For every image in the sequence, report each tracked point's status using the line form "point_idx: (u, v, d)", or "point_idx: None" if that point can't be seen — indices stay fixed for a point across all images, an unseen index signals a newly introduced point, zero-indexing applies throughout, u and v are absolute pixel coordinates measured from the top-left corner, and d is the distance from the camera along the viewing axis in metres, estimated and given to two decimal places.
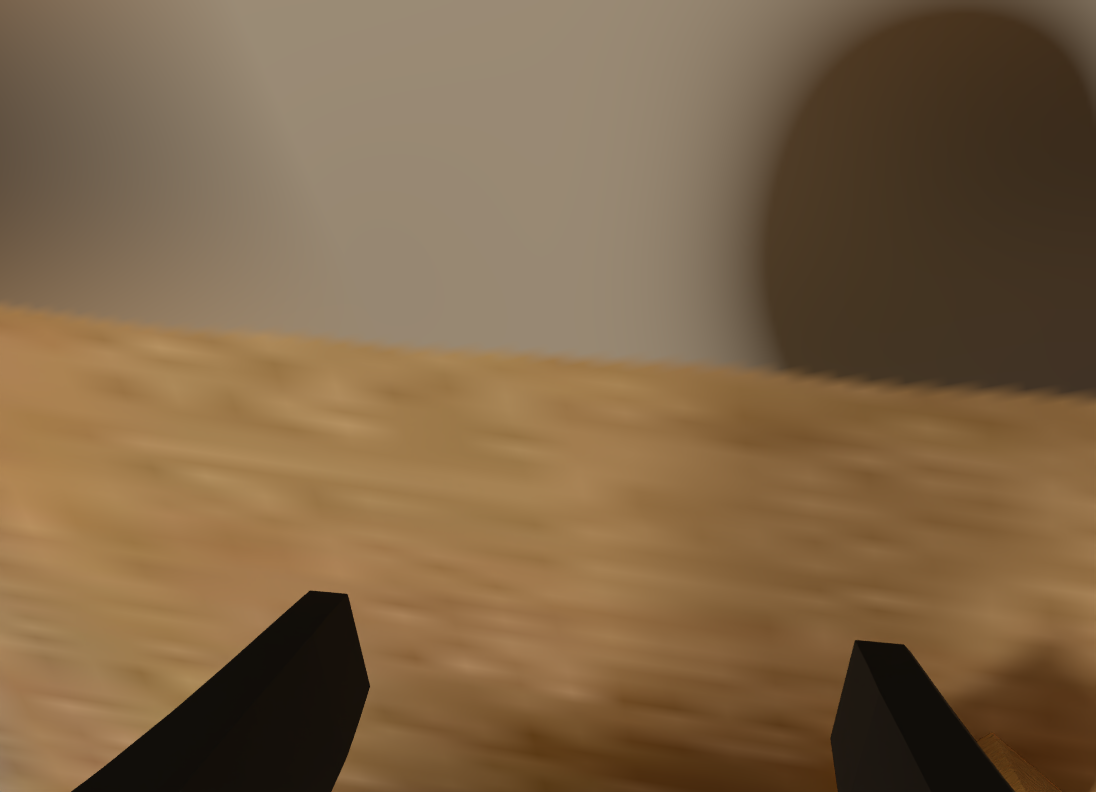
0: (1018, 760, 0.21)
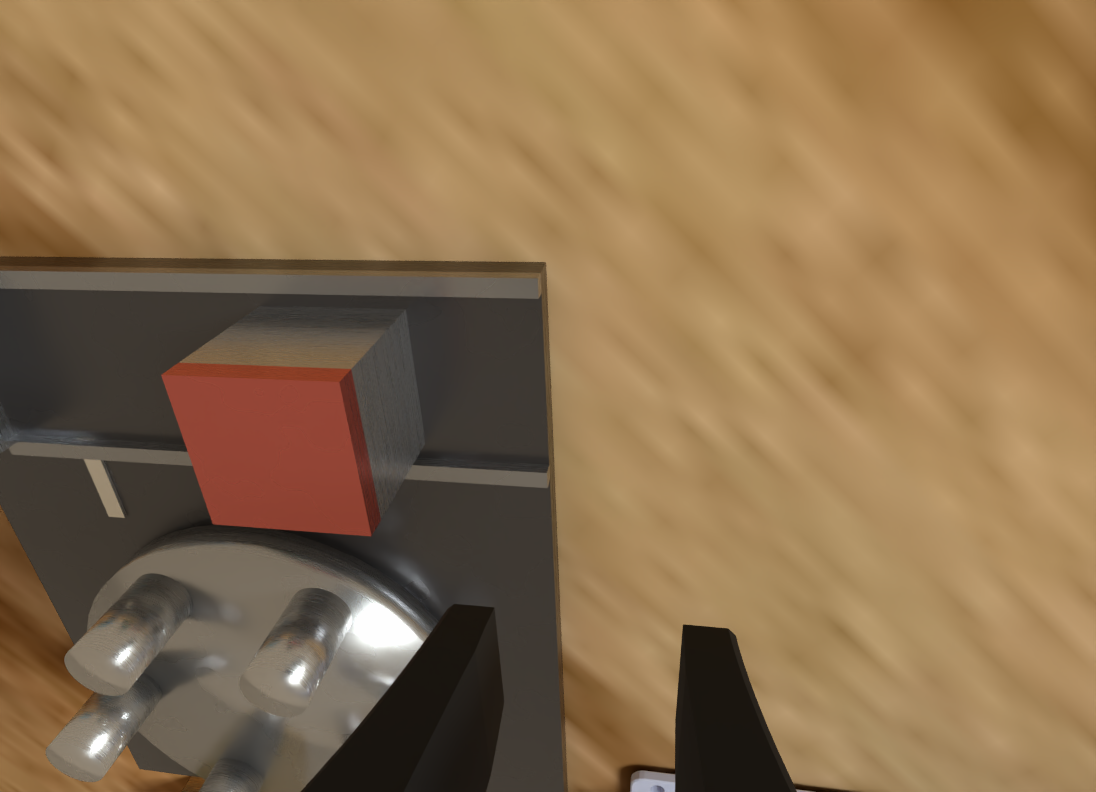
0: None
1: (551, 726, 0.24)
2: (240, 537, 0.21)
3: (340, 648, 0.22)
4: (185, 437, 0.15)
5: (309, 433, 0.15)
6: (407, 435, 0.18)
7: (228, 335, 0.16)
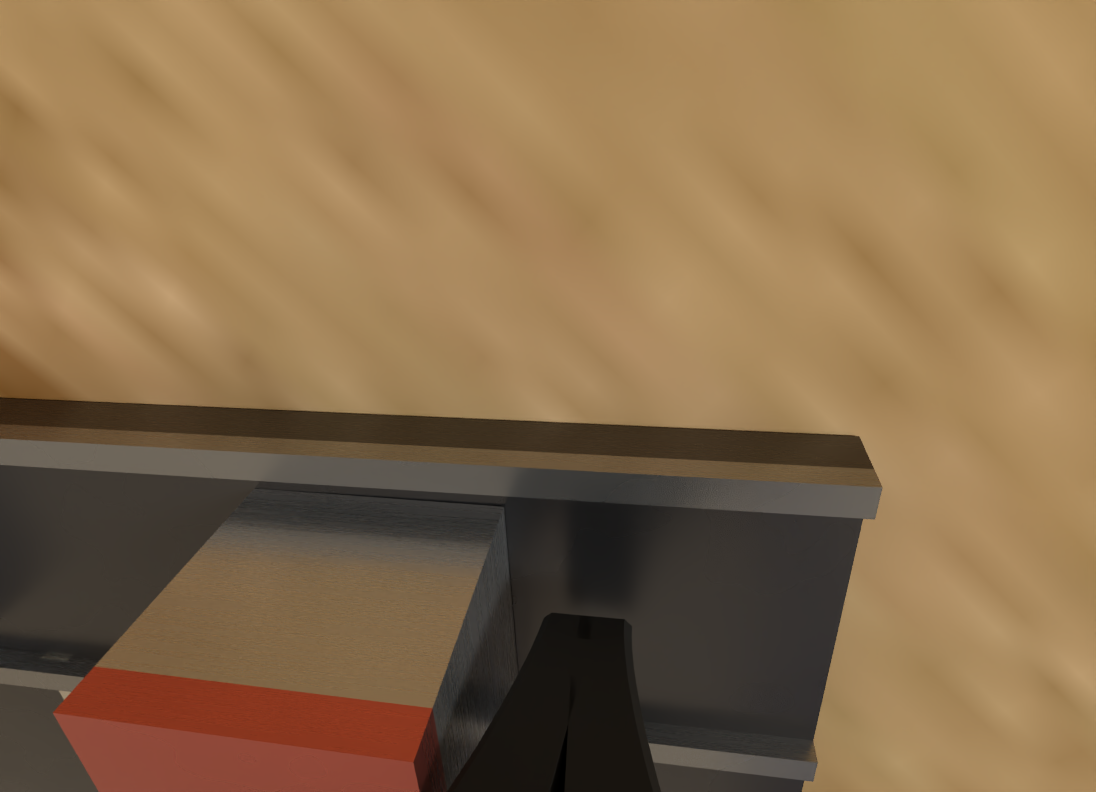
0: None
1: None
2: None
3: None
4: None
5: None
6: None
7: (195, 576, 0.09)
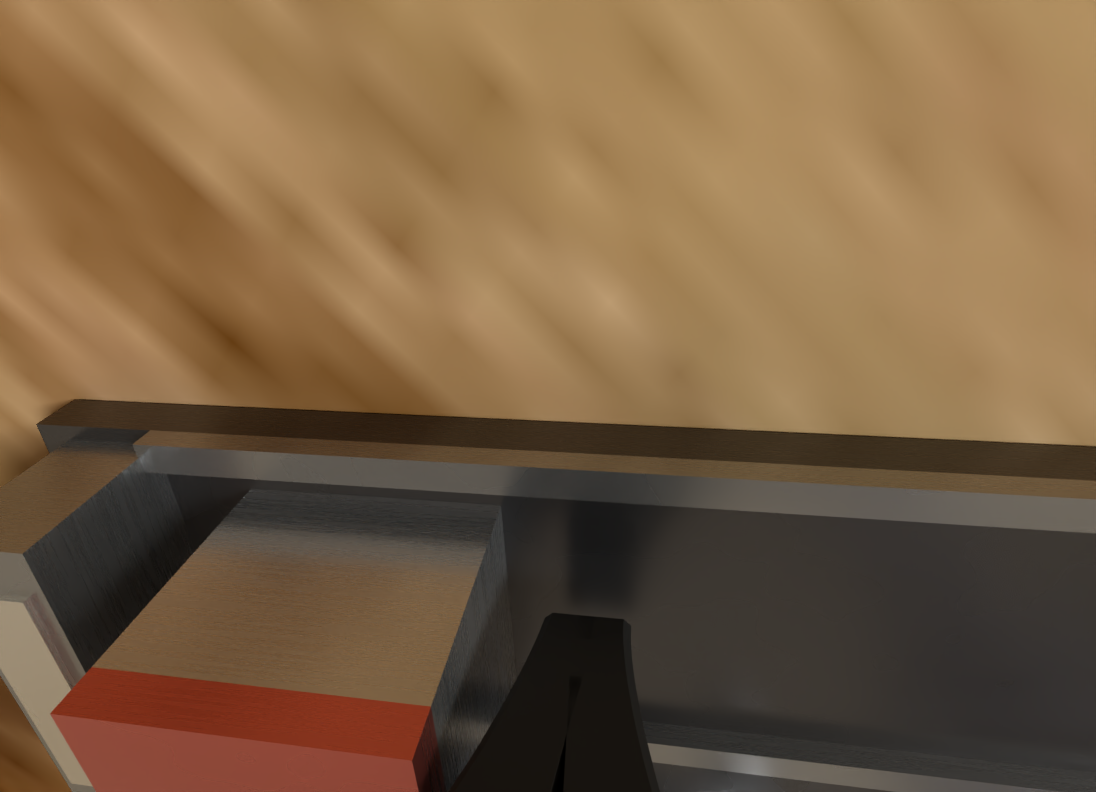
0: None
1: None
2: None
3: None
4: None
5: None
6: (499, 708, 0.11)
7: (193, 576, 0.09)
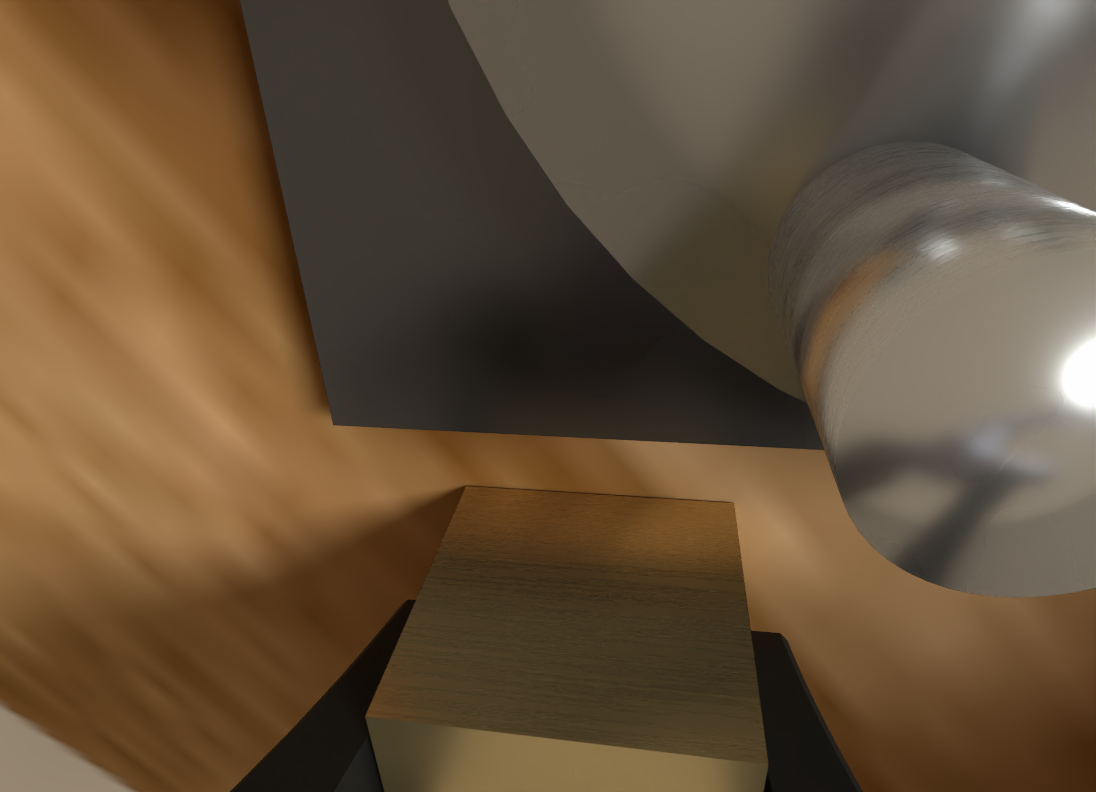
0: None
1: None
2: None
3: None
4: None
5: None
6: None
7: None
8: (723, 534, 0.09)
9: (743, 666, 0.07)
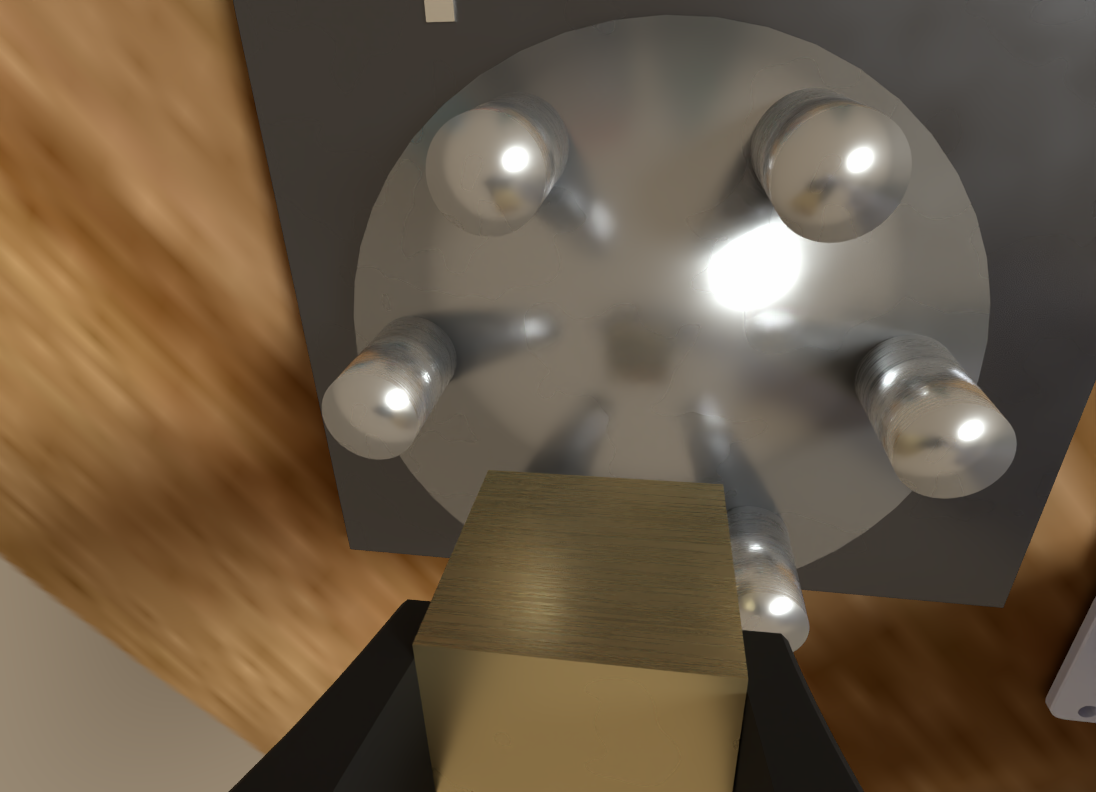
0: None
1: (1066, 410, 0.16)
2: None
3: None
4: None
5: None
6: None
7: None
8: (713, 509, 0.11)
9: (729, 609, 0.09)
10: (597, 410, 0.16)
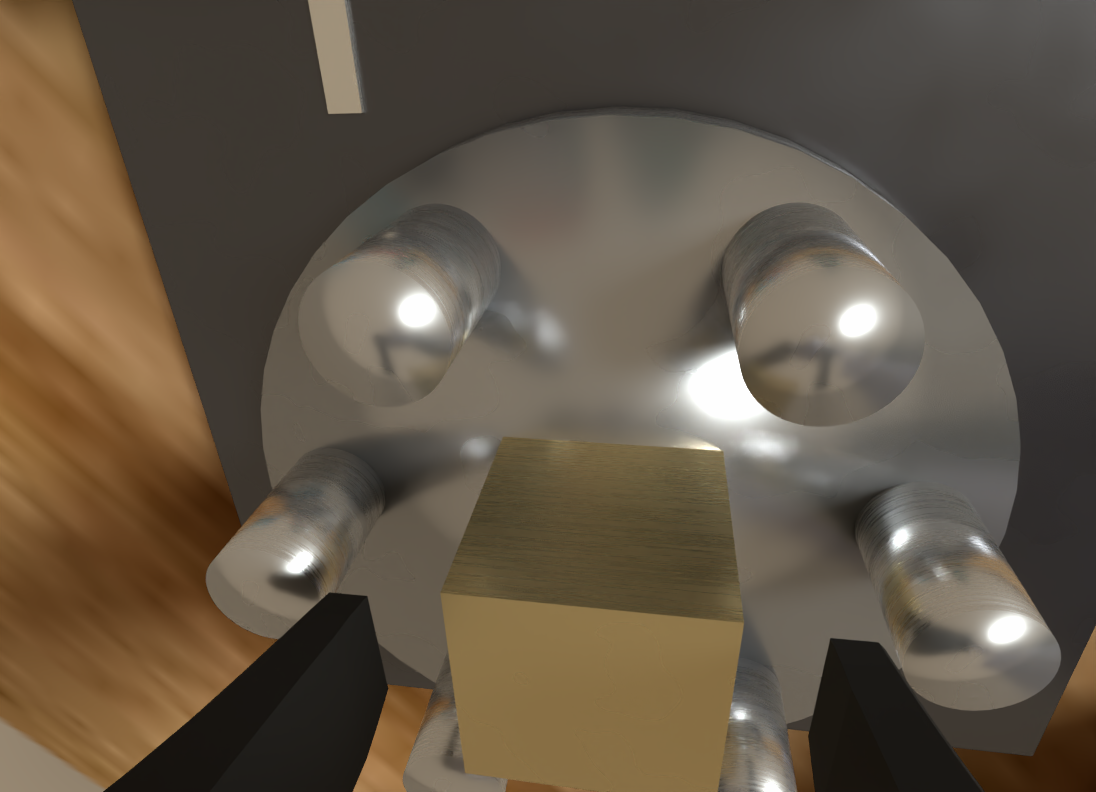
0: None
1: None
2: (626, 110, 0.10)
3: None
4: None
5: None
6: None
7: None
8: (714, 472, 0.12)
9: (727, 562, 0.10)
10: None
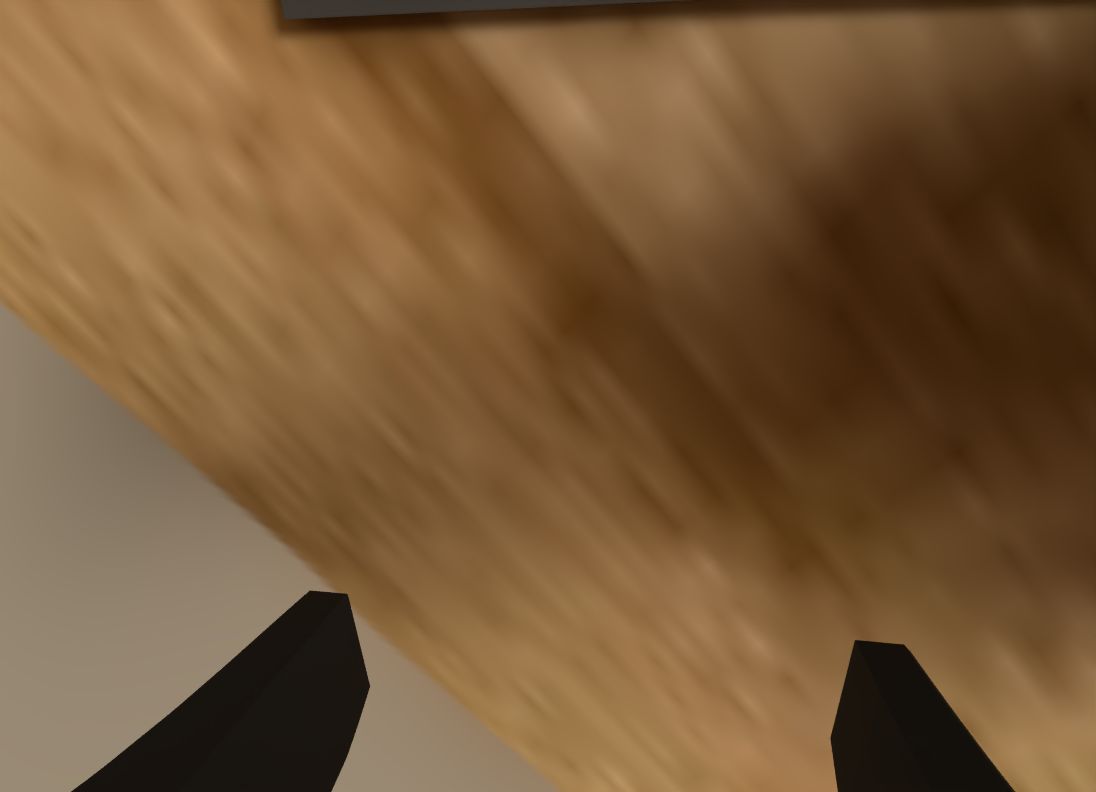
0: None
1: None
2: None
3: None
4: None
5: None
6: None
7: None
8: None
9: None
10: None
